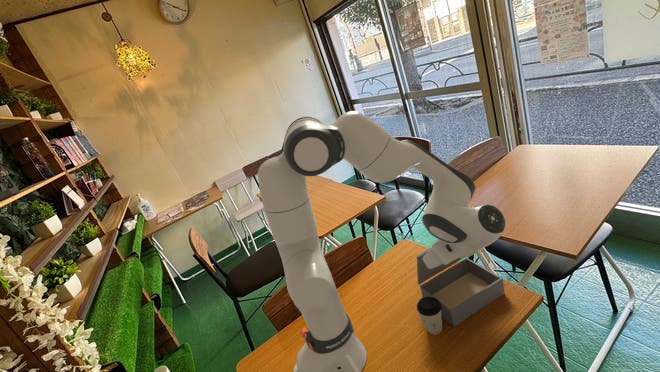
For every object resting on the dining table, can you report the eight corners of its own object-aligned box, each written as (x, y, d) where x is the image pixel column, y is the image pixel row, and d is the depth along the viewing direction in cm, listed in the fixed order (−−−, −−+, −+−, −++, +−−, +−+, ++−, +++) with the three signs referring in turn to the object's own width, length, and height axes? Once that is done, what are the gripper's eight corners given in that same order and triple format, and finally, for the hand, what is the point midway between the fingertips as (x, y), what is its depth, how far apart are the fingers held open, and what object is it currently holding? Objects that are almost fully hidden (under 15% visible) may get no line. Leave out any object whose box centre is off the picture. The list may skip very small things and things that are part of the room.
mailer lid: (418, 256, 92) (416, 255, 93) (418, 284, 101) (417, 283, 101) (469, 227, 97) (467, 226, 98) (465, 256, 106) (464, 255, 106)
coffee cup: (448, 321, 92) (442, 295, 89) (444, 340, 87) (437, 314, 83) (425, 316, 96) (419, 292, 93) (419, 335, 91) (412, 309, 87)
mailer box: (454, 327, 90) (450, 311, 88) (423, 300, 102) (419, 286, 100) (504, 293, 95) (502, 278, 93) (469, 271, 107) (466, 257, 105)
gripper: (484, 214, 89) (464, 230, 101) (427, 246, 84) (413, 259, 96) (499, 233, 86) (477, 247, 98) (442, 267, 81) (425, 278, 93)
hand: (445, 253), depth 97 cm, fingers closed, pressing on mailer lid
